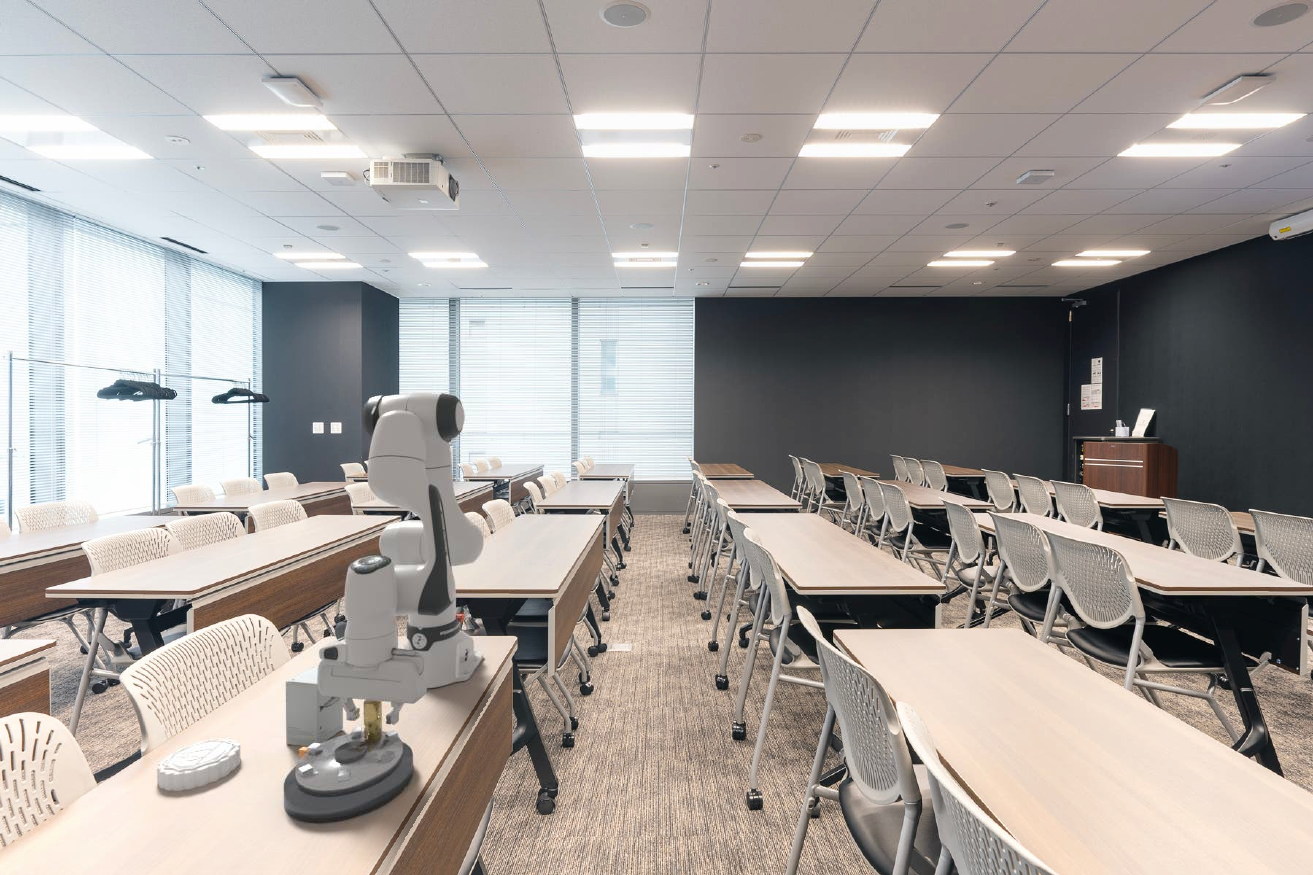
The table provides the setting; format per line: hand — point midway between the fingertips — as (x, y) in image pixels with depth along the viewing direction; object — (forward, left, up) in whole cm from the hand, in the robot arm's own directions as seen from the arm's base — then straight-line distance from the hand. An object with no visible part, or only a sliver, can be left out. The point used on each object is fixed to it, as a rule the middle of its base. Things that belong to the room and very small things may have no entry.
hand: (372, 721), depth 109 cm
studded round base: (+6, 0, -5) cm, 8 cm away
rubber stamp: (-38, -36, -9) cm, 53 cm away
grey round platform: (+6, 0, -8) cm, 10 cm away
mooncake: (+7, -30, -9) cm, 32 cm away
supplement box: (-7, -18, -8) cm, 21 cm away
